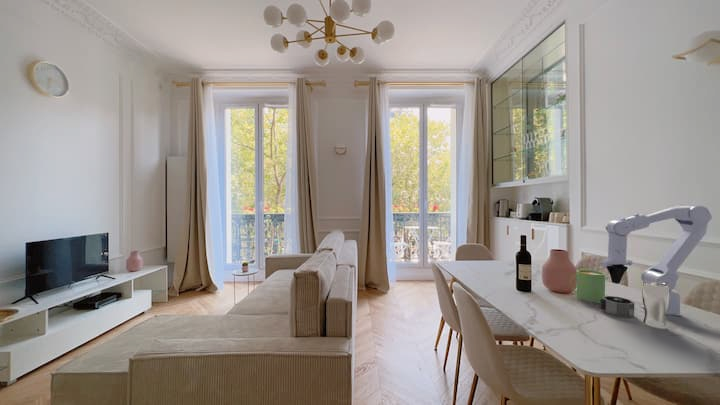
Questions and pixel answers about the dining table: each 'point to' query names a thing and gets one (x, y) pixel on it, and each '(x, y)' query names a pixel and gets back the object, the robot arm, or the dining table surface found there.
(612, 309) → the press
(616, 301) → the plunger
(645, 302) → the beer glass
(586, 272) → the mug
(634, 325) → the dining table surface
